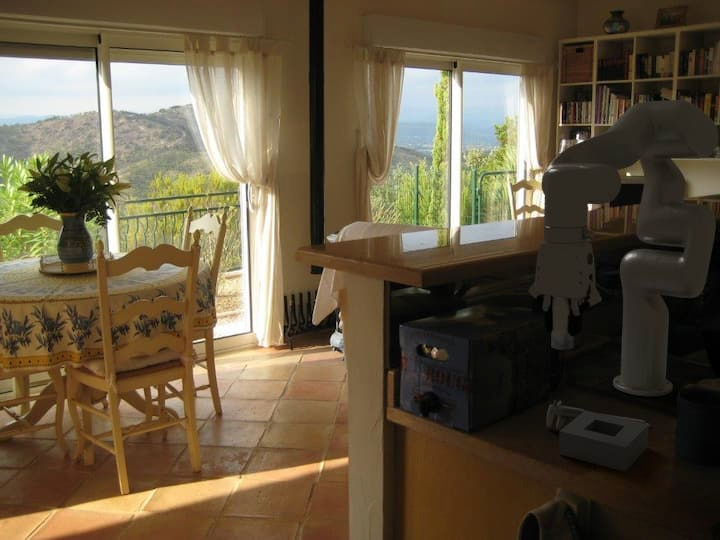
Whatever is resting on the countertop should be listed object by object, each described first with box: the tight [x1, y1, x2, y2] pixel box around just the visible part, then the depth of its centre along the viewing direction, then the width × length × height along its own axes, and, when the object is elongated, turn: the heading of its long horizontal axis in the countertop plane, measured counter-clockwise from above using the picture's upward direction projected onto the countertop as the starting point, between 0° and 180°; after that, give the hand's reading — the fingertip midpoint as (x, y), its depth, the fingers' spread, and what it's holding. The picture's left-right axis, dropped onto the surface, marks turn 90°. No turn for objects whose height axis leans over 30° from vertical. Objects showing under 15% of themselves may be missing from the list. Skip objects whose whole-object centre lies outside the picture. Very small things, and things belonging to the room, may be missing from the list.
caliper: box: [546, 399, 652, 431], centre depth 142 cm, size 20×1×6 cm, turn 90°
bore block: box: [558, 409, 650, 473], centre depth 132 cm, size 12×12×4 cm
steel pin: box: [550, 296, 575, 351], centre depth 134 cm, size 4×4×10 cm
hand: (563, 331), depth 134 cm, fingers closed on steel pin, 4 cm apart
